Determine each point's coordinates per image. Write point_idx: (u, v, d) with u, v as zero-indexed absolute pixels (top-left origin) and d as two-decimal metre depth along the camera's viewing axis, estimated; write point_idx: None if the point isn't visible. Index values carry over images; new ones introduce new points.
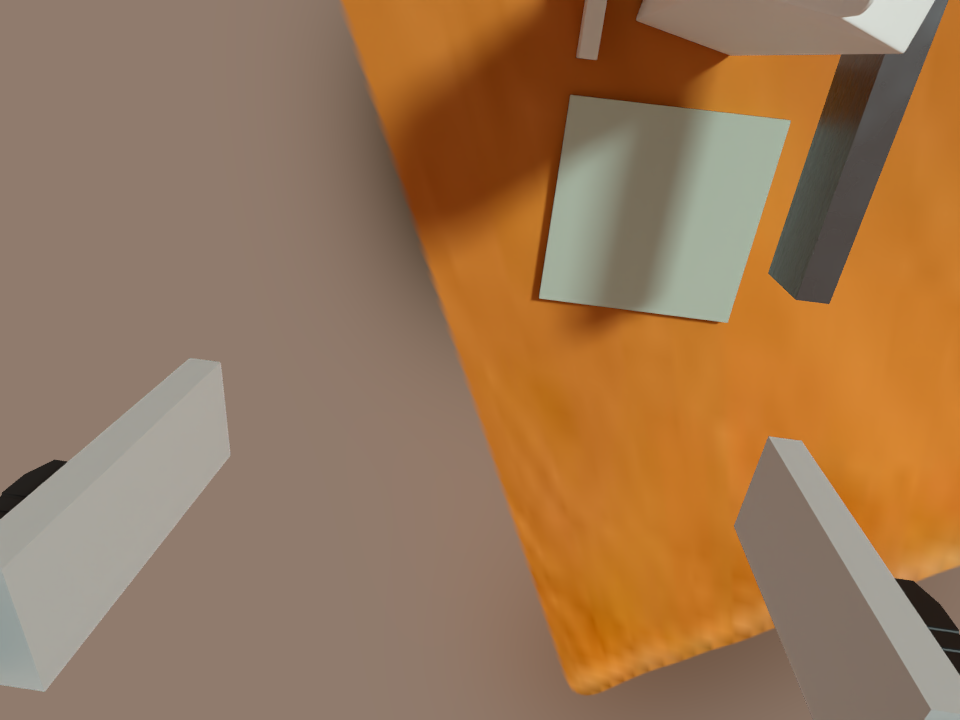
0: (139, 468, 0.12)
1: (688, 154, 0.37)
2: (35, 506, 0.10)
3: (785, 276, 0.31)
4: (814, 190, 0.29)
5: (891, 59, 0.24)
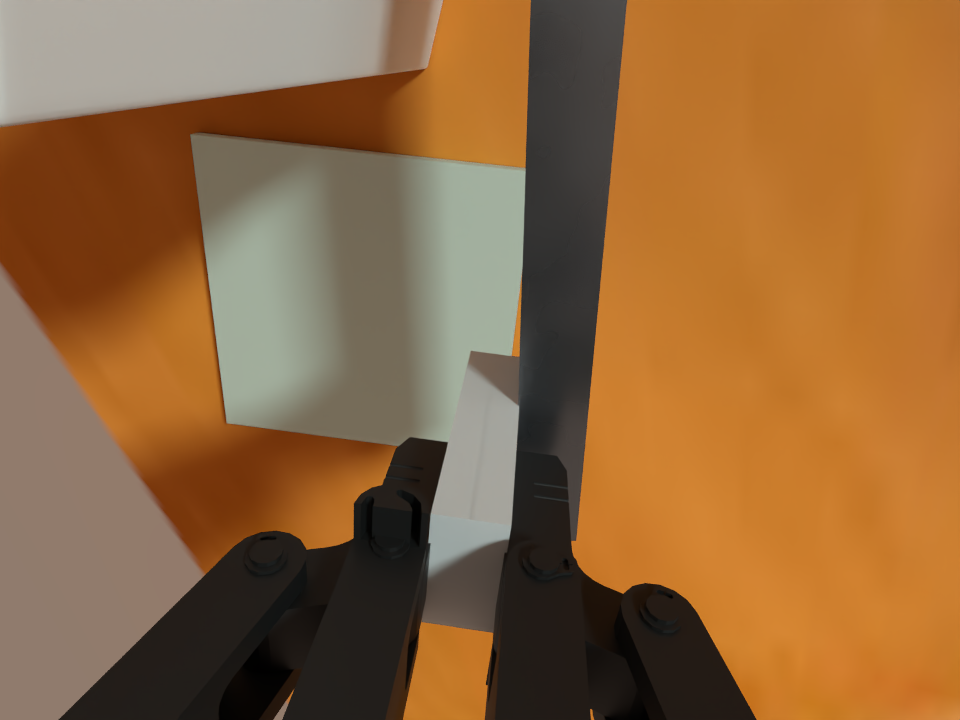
0: None
1: (388, 223, 0.23)
2: (456, 471, 0.12)
3: None
4: None
5: (546, 98, 0.11)
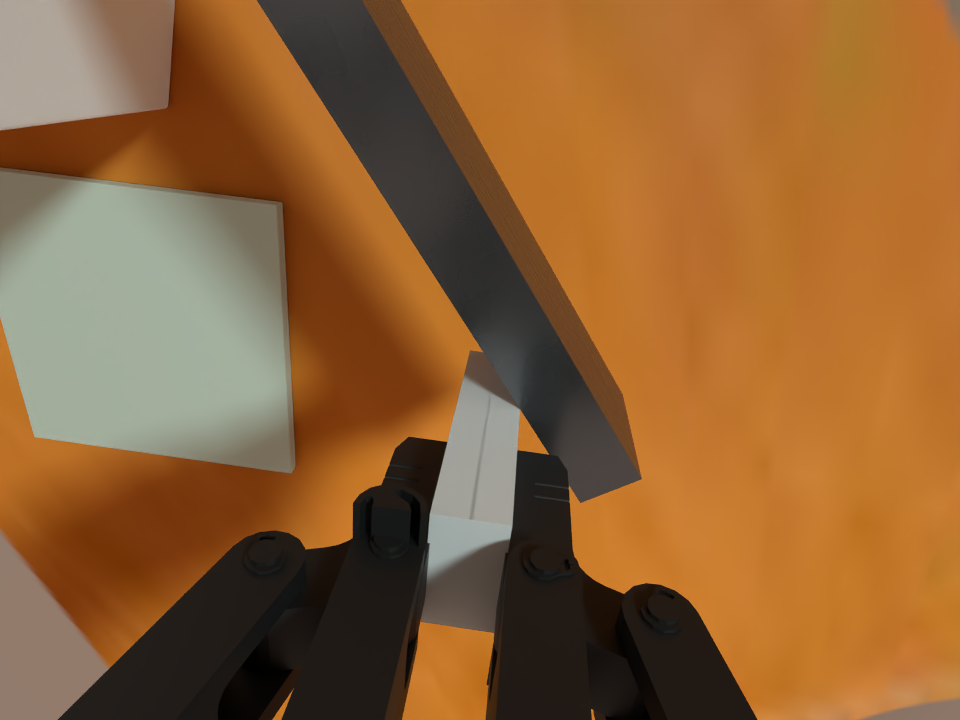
0: None
1: (151, 250, 0.25)
2: (455, 471, 0.12)
3: None
4: None
5: (337, 92, 0.11)
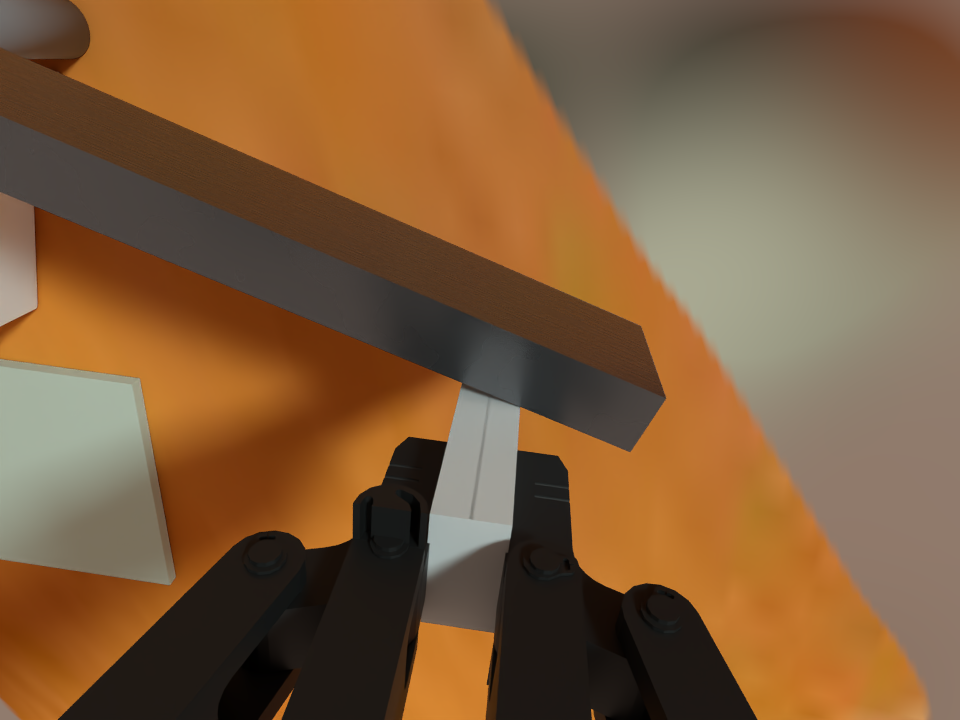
0: None
1: (33, 414, 0.29)
2: (455, 471, 0.12)
3: None
4: None
5: (198, 259, 0.13)
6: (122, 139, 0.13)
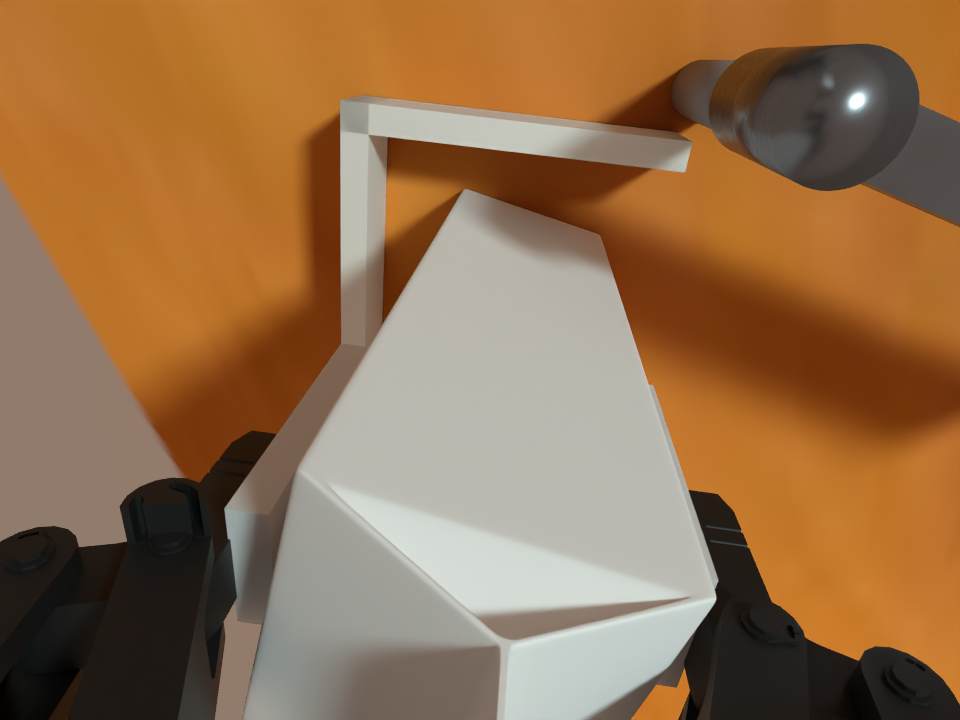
0: None
1: None
2: (270, 465, 0.11)
3: None
4: None
5: None
6: None
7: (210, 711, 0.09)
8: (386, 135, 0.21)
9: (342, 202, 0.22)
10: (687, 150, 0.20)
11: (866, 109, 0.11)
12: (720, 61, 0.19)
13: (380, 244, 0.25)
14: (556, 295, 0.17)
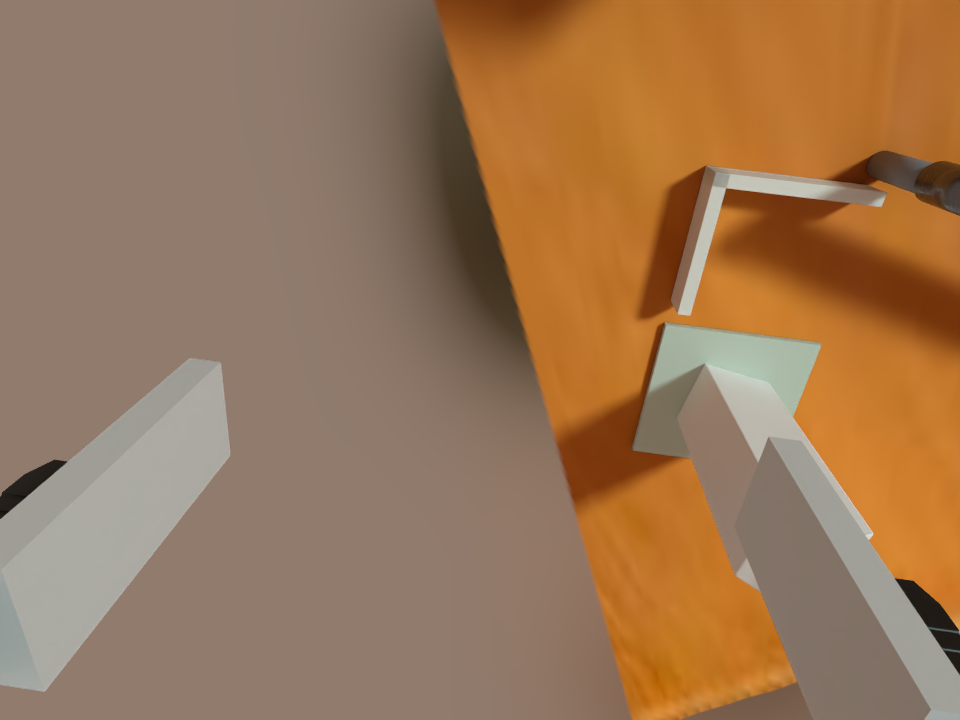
0: (139, 468, 0.12)
1: (747, 363, 0.52)
2: (35, 506, 0.10)
3: None
4: None
5: None
6: None
7: None
8: (735, 188, 0.43)
9: (704, 220, 0.45)
10: (884, 196, 0.43)
11: None
12: (906, 157, 0.41)
13: None
14: (783, 432, 0.44)
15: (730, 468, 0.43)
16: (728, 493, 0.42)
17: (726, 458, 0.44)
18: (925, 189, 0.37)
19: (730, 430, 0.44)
